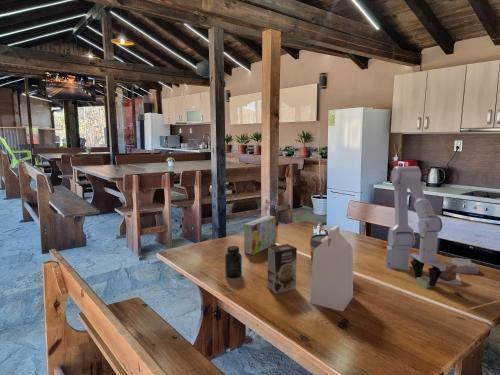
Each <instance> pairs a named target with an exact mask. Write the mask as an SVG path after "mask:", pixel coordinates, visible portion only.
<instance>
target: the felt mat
mask: <svg viewBox="0 0 500 375" xmlns="http://www.w3.org/2000/svg"><path fill="white" fill-rule="evenodd" d="M437 282H438V283H445V284H453V285H459V286H462V285H463V283H462V280H461V278H460V276H459V275H458V274H456V279H455V280H451V281H445V280H443V279H440V278H438V280H437ZM437 282H436V283H437Z"/></svg>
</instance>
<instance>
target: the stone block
mask: <svg viewBox="0 0 500 375" xmlns="http://www.w3.org/2000/svg"><path fill="white" fill-rule="evenodd" d="M446 261H448V262H451V263H454V264H456V265H457V273H459V274H472V275H478V274H479V266H478V264H476V263H474V262H473V261H472V260H471V259H470V258H469V259H466V258H461V257H453V258H452V257H451V258H448V259H447V260H446Z"/></svg>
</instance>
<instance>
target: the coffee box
mask: <svg viewBox="0 0 500 375" xmlns="http://www.w3.org/2000/svg"><path fill="white" fill-rule="evenodd" d="M297 252H298V248H297V247H296V246H293V245H291V244H289V243H285V244H280V245H275V246H274V245H272V246H270V247H268V248H267V288H268V289H269V290H270V291H272V292H273V293H274V294H280V293H284V292H289V291H293V290H296V289H297V256H298V255H297Z"/></svg>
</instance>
